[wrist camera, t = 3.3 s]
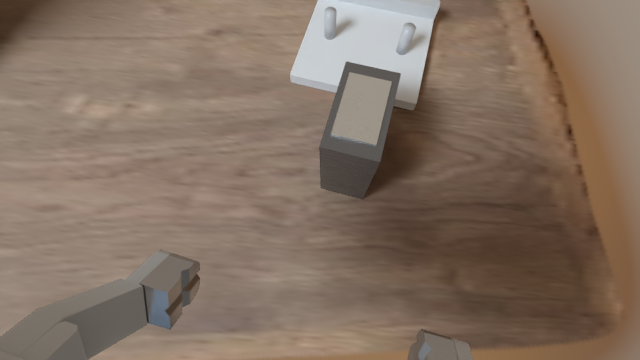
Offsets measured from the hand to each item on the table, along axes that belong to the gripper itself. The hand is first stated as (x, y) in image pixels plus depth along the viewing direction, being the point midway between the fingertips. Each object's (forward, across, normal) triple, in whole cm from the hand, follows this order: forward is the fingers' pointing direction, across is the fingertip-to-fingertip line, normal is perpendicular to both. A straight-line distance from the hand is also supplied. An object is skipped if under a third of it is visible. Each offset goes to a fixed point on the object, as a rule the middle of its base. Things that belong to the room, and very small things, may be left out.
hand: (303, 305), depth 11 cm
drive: (+19, 0, +2) cm, 19 cm away
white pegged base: (+28, +2, -7) cm, 29 cm away
